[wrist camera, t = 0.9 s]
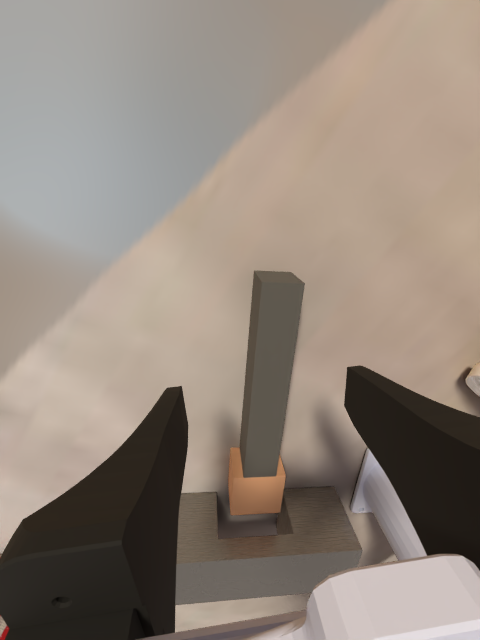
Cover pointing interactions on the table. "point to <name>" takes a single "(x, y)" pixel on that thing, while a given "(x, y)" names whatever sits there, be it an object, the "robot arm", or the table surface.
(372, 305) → the table surface
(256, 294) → the grey orange long bar
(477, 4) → the table surface
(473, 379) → the spread jar
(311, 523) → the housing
